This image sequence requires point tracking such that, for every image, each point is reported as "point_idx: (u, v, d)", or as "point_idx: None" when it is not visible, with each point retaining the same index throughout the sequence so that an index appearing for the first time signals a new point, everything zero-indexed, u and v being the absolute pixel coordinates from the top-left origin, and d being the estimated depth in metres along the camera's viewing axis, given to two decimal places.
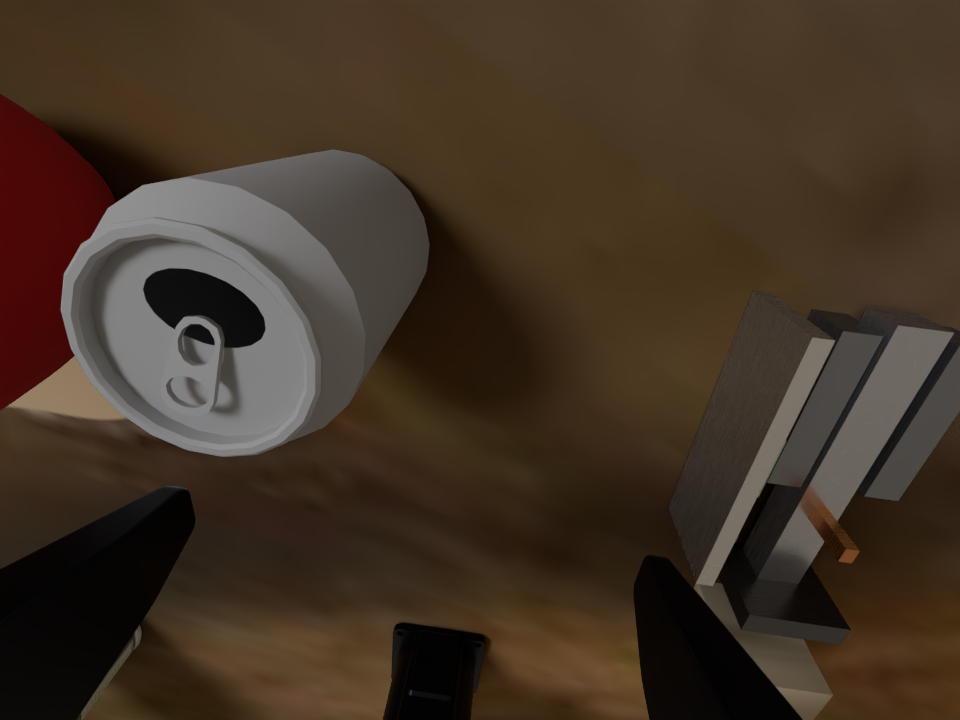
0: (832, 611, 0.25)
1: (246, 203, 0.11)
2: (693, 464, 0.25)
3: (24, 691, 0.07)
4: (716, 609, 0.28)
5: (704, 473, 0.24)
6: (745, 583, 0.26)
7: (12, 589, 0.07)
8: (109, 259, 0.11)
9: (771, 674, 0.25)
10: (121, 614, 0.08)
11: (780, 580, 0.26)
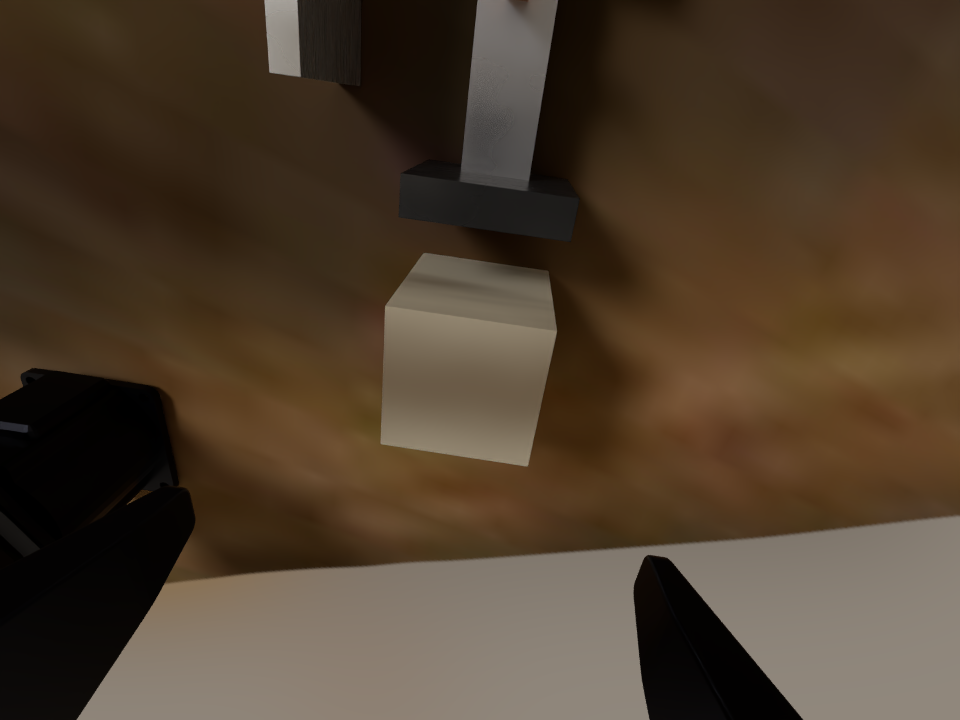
0: (563, 191, 0.14)
1: None
2: None
3: (24, 691, 0.07)
4: (428, 268, 0.17)
5: None
6: (432, 168, 0.15)
7: (12, 589, 0.07)
8: None
9: (461, 309, 0.14)
10: (121, 614, 0.08)
11: (499, 176, 0.15)
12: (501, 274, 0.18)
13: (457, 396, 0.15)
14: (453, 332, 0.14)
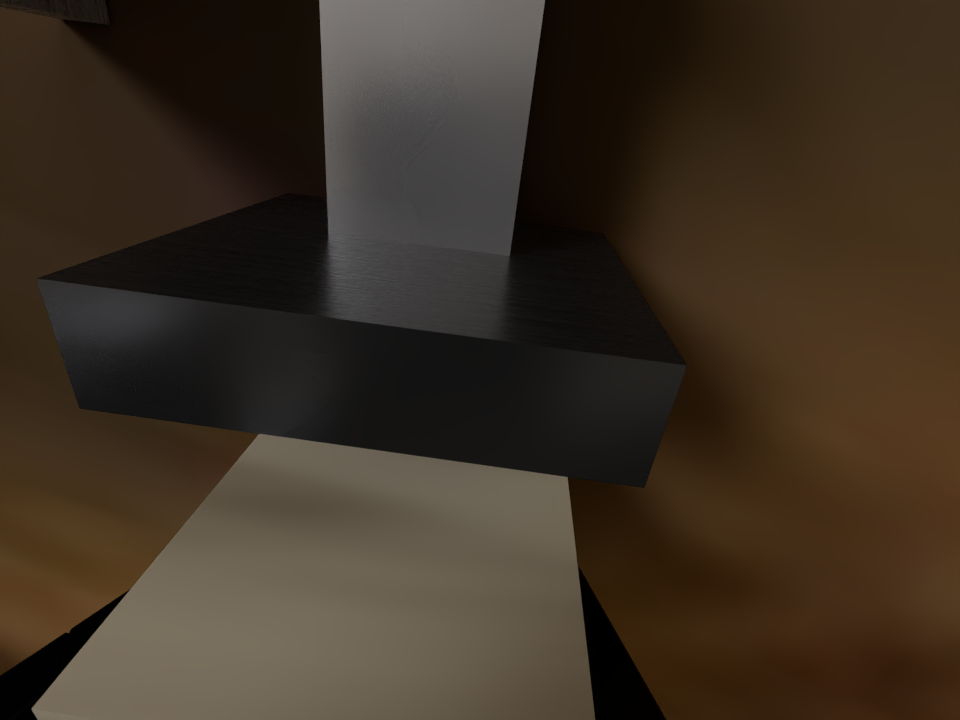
0: (614, 313, 0.04)
1: None
2: None
3: None
4: (291, 438, 0.08)
5: None
6: (240, 231, 0.05)
7: None
8: None
9: (303, 673, 0.05)
10: None
11: (432, 244, 0.06)
12: None
13: None
14: None
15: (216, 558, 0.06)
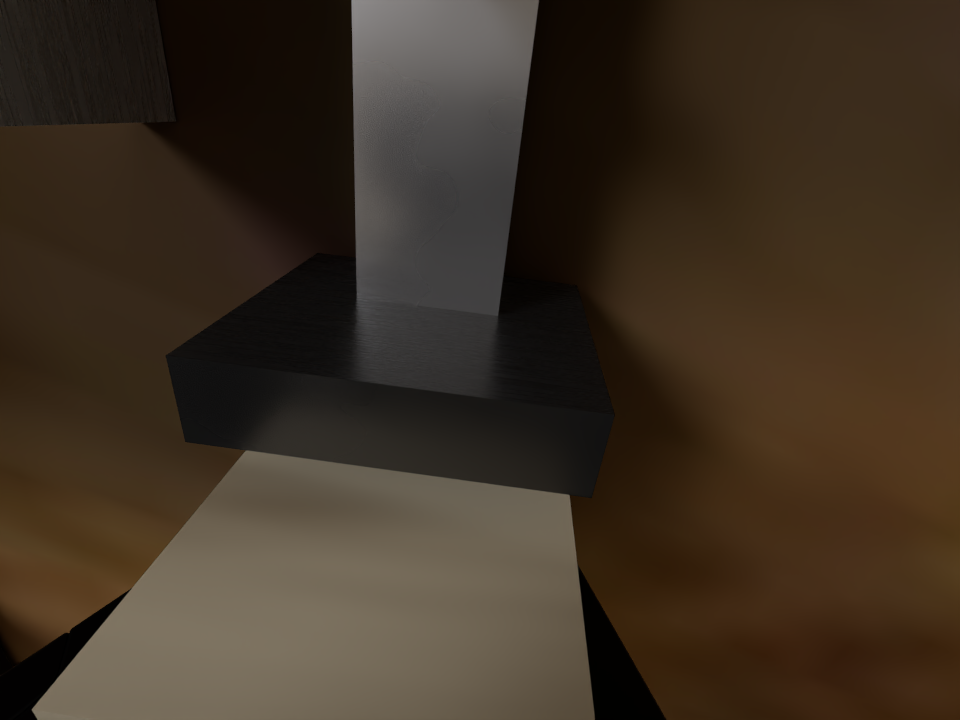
0: (571, 369, 0.06)
1: None
2: None
3: None
4: None
5: None
6: (291, 300, 0.07)
7: None
8: None
9: (303, 674, 0.05)
10: None
11: (438, 307, 0.07)
12: None
13: None
14: None
15: (216, 559, 0.06)
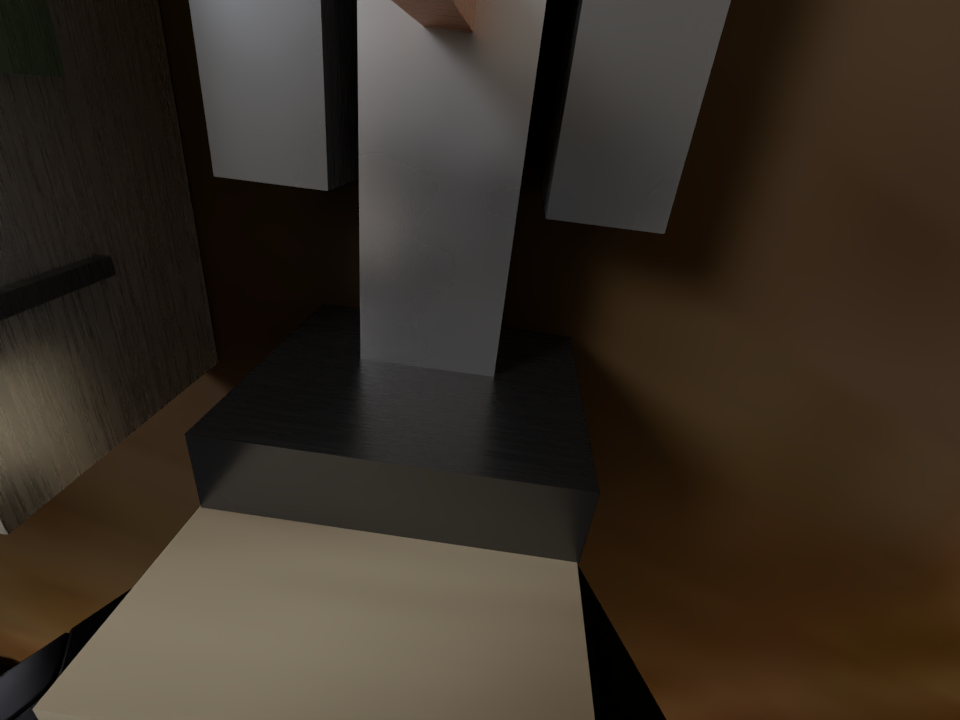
0: (561, 440, 0.06)
1: None
2: None
3: None
4: None
5: None
6: (298, 364, 0.07)
7: None
8: None
9: (303, 673, 0.05)
10: None
11: (437, 367, 0.08)
12: None
13: None
14: None
15: (216, 559, 0.06)
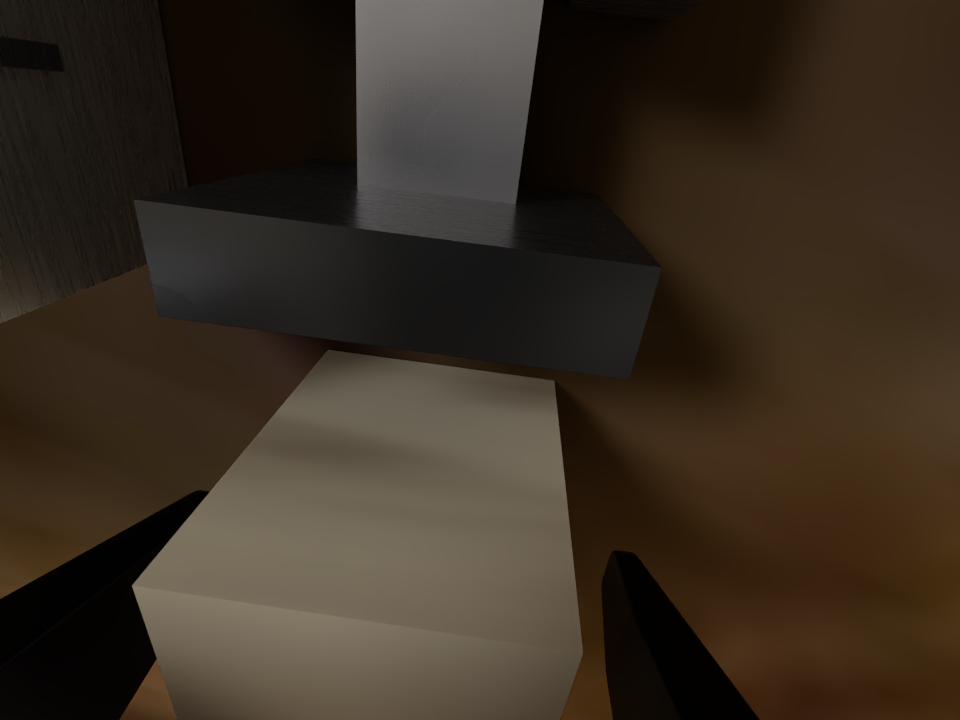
0: (604, 239, 0.05)
1: None
2: None
3: (69, 698, 0.07)
4: (318, 399, 0.09)
5: None
6: (283, 180, 0.06)
7: (55, 596, 0.07)
8: None
9: (342, 567, 0.06)
10: None
11: (448, 195, 0.07)
12: (464, 402, 0.09)
13: None
14: (315, 641, 0.06)
15: (264, 487, 0.07)
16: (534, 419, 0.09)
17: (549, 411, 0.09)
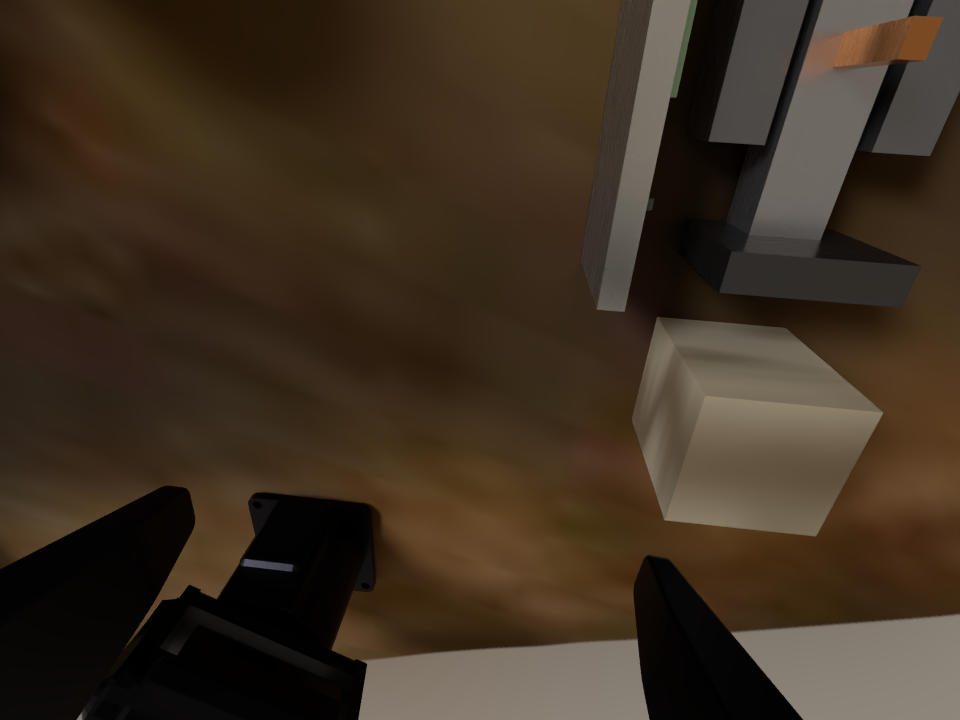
0: (884, 255, 0.14)
1: None
2: (600, 156, 0.16)
3: (24, 691, 0.07)
4: (684, 338, 0.18)
5: (608, 143, 0.15)
6: (727, 236, 0.15)
7: (12, 589, 0.07)
8: None
9: (771, 391, 0.14)
10: (121, 614, 0.08)
11: (789, 237, 0.15)
12: (752, 338, 0.18)
13: (758, 475, 0.15)
14: (770, 417, 0.14)
15: (708, 369, 0.16)
16: (793, 344, 0.18)
17: (796, 341, 0.18)
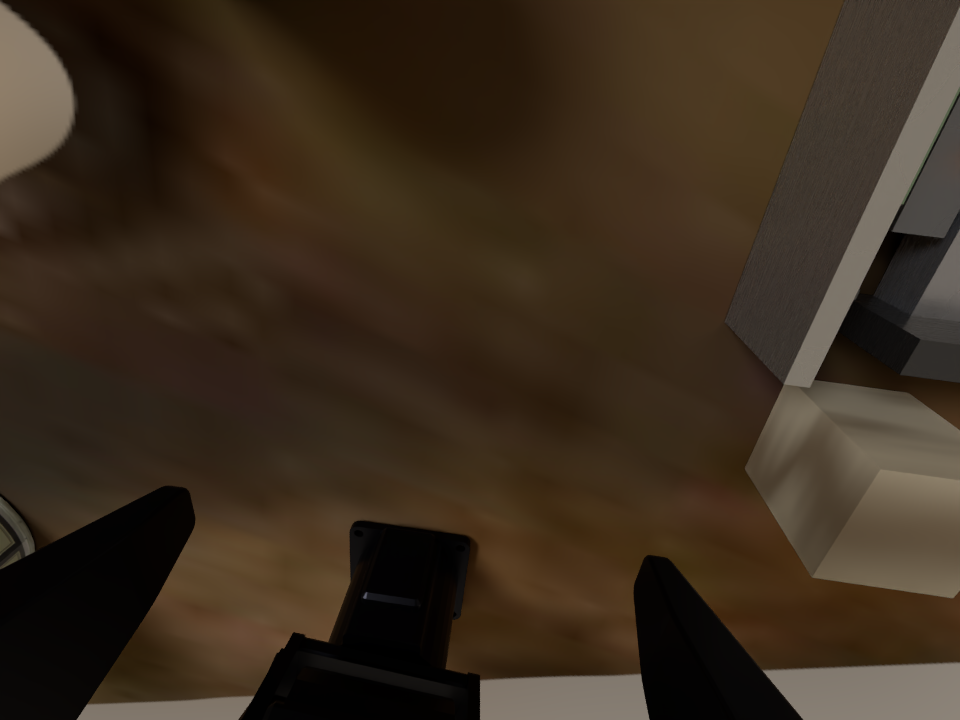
0: None
1: None
2: (769, 231, 0.17)
3: (24, 691, 0.07)
4: (825, 402, 0.19)
5: (793, 225, 0.16)
6: (895, 317, 0.16)
7: (12, 589, 0.07)
8: None
9: (935, 466, 0.15)
10: (121, 614, 0.08)
11: (948, 319, 0.16)
12: (886, 404, 0.19)
13: (912, 541, 0.16)
14: (937, 491, 0.15)
15: (866, 439, 0.16)
16: (925, 412, 0.19)
17: (926, 408, 0.19)
